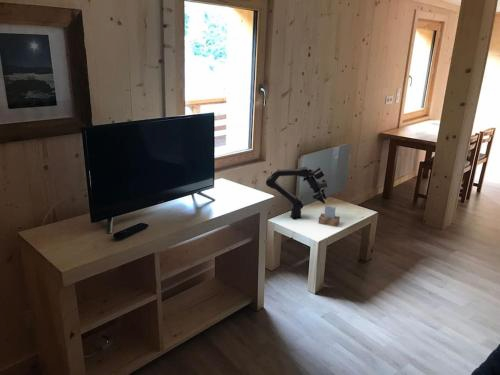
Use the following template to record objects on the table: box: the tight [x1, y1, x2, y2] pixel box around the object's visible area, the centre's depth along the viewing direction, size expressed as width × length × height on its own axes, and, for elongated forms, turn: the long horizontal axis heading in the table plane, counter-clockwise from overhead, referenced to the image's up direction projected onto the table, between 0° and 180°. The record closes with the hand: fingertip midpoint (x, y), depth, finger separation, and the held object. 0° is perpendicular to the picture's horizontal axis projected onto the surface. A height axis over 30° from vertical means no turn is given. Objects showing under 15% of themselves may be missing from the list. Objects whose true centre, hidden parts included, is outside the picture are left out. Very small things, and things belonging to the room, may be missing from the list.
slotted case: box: [318, 213, 341, 228], centre depth 287 cm, size 13×8×4 cm, turn 67°
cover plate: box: [323, 205, 336, 219], centre depth 285 cm, size 7×2×10 cm, turn 67°
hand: (325, 201), depth 287 cm, fingers open, 9 cm apart
